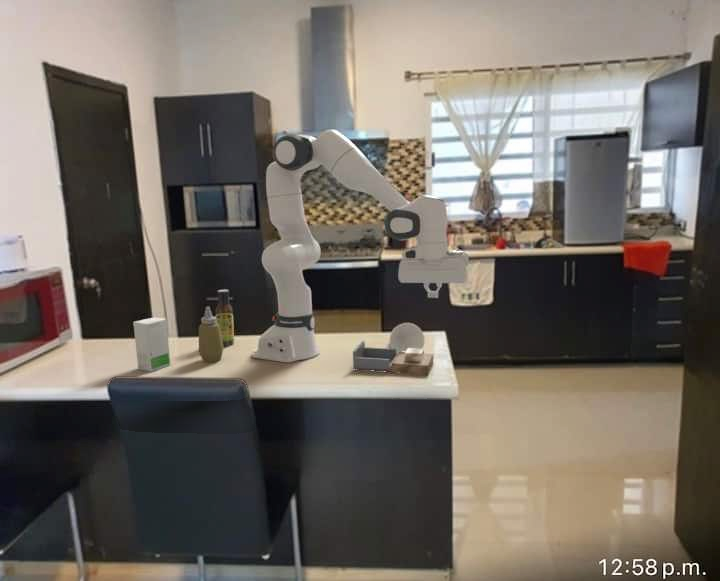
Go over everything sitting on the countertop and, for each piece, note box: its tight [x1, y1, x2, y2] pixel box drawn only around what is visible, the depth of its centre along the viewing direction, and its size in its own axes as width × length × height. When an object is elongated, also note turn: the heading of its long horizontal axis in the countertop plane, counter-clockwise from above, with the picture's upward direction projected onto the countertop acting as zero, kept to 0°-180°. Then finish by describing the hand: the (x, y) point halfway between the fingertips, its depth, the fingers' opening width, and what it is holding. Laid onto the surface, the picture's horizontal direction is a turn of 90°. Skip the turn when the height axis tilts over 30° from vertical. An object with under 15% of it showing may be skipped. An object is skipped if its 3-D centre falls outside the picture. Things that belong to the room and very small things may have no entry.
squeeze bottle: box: [198, 306, 225, 363], centre depth 185 cm, size 8×8×18 cm
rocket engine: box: [389, 322, 425, 354], centre depth 192 cm, size 12×12×18 cm
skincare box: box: [132, 316, 172, 373], centre depth 180 cm, size 8×7×16 cm
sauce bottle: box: [214, 288, 235, 347], centre depth 202 cm, size 6×6×20 cm
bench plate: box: [392, 352, 434, 376], centre depth 173 cm, size 11×11×3 cm
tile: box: [405, 348, 425, 362], centre depth 173 cm, size 5×5×2 cm
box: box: [352, 340, 397, 373], centre depth 176 cm, size 12×11×6 cm
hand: (433, 297), depth 167 cm, fingers closed
